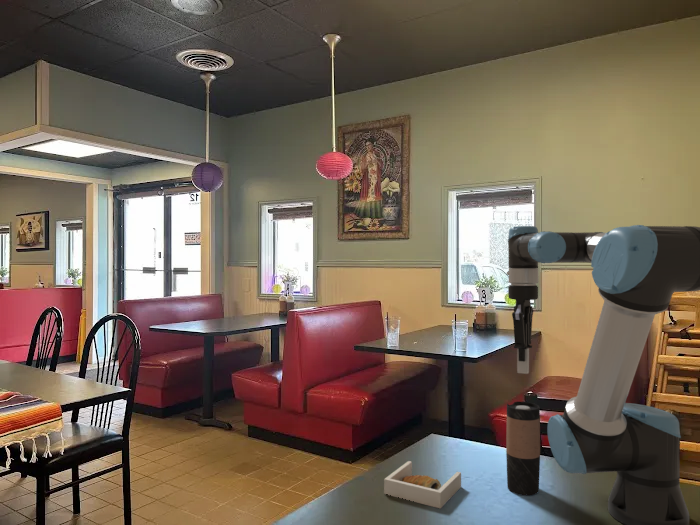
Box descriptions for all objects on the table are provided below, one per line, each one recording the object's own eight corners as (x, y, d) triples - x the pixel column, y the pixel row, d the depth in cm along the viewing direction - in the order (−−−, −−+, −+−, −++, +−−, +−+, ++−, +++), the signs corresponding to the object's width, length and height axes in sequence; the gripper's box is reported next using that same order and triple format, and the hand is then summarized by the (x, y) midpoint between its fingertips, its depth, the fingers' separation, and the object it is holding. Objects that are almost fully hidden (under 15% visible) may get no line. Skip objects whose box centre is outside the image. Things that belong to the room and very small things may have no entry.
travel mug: (542, 497, 124) (542, 411, 124) (507, 494, 126) (507, 409, 125) (537, 483, 132) (537, 402, 131) (505, 481, 133) (505, 400, 133)
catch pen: (461, 486, 130) (461, 472, 130) (440, 508, 119) (440, 492, 119) (408, 474, 137) (408, 461, 137) (384, 493, 126) (384, 479, 126)
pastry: (395, 489, 129) (395, 473, 129) (412, 481, 134) (412, 465, 134) (427, 501, 123) (427, 484, 123) (444, 492, 128) (444, 476, 128)
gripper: (515, 282, 151) (515, 366, 152) (502, 285, 140) (501, 375, 140) (543, 283, 147) (543, 369, 148) (531, 286, 136) (531, 379, 136)
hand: (523, 372), depth 144 cm, fingers closed
